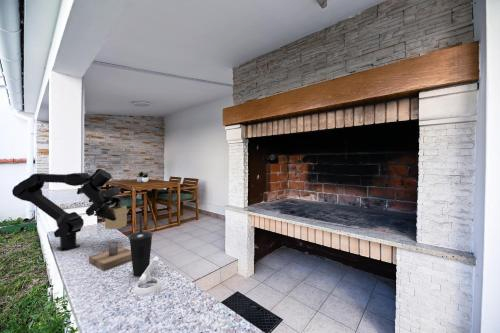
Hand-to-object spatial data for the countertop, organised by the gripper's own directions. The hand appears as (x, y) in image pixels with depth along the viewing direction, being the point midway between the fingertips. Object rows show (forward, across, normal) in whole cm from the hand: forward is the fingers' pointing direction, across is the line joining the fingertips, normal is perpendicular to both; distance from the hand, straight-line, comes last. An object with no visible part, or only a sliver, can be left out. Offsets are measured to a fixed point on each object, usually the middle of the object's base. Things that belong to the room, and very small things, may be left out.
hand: (119, 218), depth 99 cm
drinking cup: (+25, -24, -6) cm, 35 cm away
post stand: (+14, -14, +5) cm, 20 cm away
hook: (+29, -33, -10) cm, 45 cm away
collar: (+2, 0, +4) cm, 4 cm away
